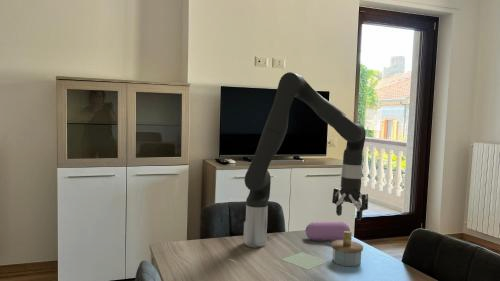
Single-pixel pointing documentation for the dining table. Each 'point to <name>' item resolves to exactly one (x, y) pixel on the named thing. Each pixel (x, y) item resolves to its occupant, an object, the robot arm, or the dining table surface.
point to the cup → (346, 258)
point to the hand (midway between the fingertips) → (348, 217)
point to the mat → (304, 260)
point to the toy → (326, 230)
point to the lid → (347, 244)
